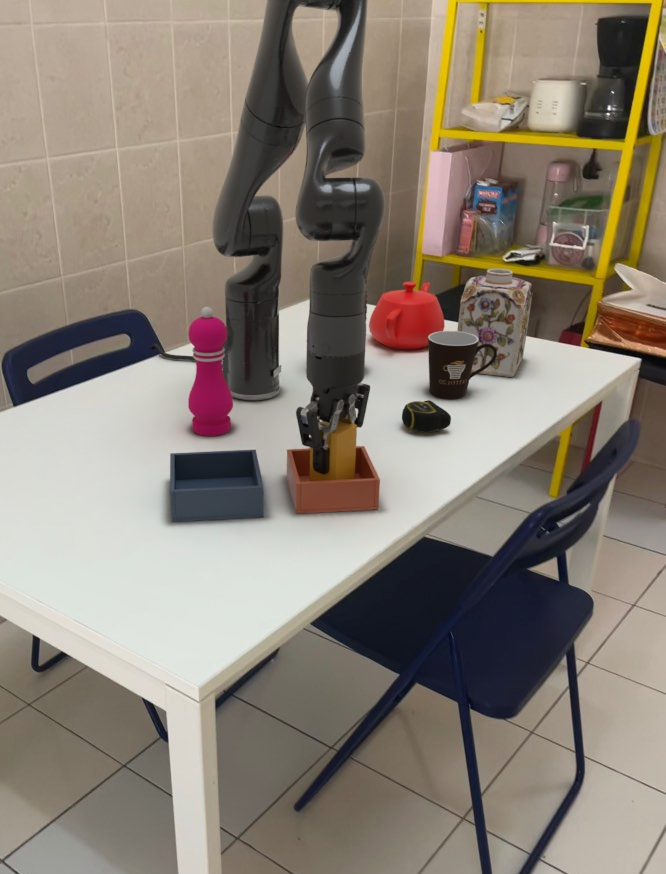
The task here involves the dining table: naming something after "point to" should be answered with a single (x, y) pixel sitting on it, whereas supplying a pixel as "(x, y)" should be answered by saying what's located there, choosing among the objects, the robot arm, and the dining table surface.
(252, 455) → the slate bin
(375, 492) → the terracotta bin
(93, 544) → the dining table surface
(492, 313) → the decorative jar
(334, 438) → the mustard box
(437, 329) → the teapot
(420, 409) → the tape measure
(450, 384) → the coffee mug
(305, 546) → the dining table surface
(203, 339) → the pepper mill
